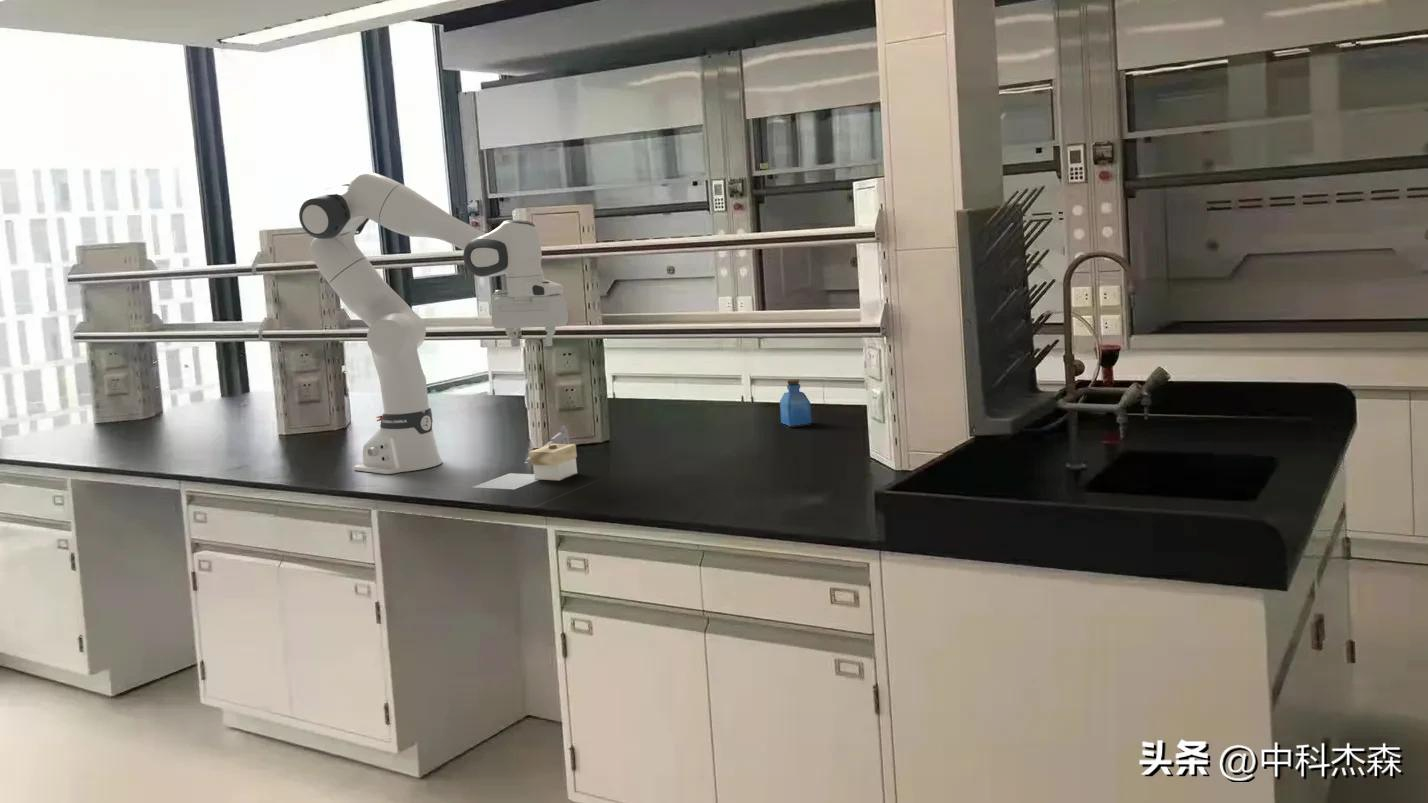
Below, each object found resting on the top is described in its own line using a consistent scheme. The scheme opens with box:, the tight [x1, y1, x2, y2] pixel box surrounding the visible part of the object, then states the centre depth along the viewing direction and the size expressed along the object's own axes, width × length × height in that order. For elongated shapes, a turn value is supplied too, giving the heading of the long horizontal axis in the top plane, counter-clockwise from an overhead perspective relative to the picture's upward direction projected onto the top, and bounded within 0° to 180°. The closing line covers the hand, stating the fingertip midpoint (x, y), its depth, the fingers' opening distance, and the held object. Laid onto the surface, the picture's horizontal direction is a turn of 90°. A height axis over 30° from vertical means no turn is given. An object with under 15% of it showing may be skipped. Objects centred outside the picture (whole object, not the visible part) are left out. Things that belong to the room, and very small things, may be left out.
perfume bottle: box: [779, 379, 812, 426], centre depth 316 cm, size 6×6×12 cm
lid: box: [529, 443, 578, 466], centre depth 273 cm, size 6×9×4 cm
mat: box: [471, 472, 541, 490], centre depth 272 cm, size 12×14×1 cm
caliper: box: [524, 425, 571, 464], centre depth 301 cm, size 20×1×6 cm, turn 156°
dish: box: [532, 457, 578, 481], centre depth 274 cm, size 7×7×4 cm
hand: (531, 346), depth 285 cm, fingers open, 8 cm apart
